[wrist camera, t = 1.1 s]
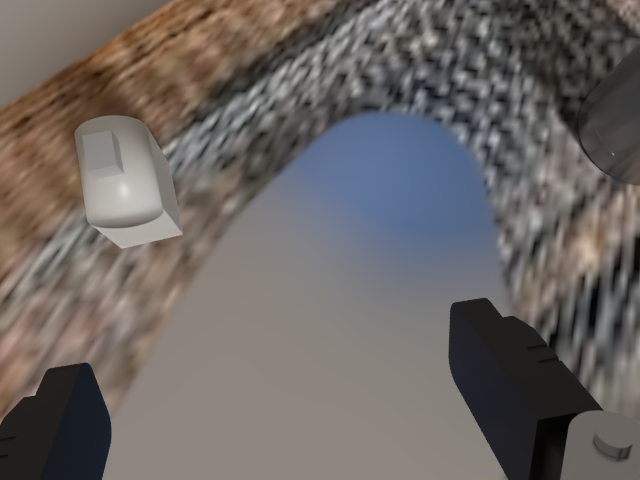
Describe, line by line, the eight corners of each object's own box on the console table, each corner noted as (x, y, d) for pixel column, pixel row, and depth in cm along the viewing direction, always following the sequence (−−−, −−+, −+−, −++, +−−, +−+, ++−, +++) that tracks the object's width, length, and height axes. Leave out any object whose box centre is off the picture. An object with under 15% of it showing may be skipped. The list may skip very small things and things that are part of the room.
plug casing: (169, 164, 39) (130, 98, 30) (183, 234, 38) (146, 186, 29) (110, 177, 39) (53, 114, 30) (121, 248, 38) (65, 204, 29)
